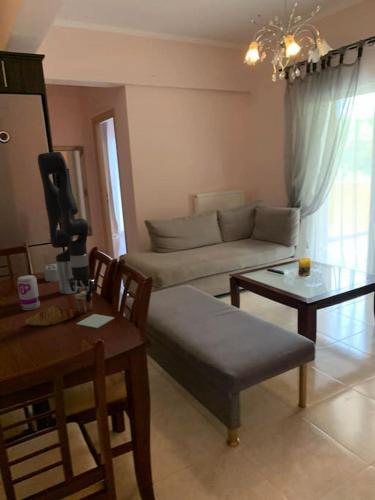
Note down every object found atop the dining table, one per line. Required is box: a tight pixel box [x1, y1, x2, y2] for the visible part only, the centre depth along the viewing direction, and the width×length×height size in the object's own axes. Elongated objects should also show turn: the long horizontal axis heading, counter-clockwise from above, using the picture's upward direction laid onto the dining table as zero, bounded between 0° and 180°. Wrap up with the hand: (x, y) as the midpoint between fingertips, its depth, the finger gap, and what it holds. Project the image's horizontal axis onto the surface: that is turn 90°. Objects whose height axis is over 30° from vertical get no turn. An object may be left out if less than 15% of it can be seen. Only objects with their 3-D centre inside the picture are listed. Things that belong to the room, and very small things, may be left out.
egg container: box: [43, 262, 59, 283], centre depth 223 cm, size 10×13×9 cm
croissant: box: [25, 305, 79, 326], centre depth 157 cm, size 21×10×8 cm, turn 112°
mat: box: [75, 313, 115, 329], centre depth 155 cm, size 11×11×1 cm
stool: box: [74, 290, 93, 314], centre depth 167 cm, size 5×5×8 cm
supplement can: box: [16, 274, 41, 311], centre depth 174 cm, size 8×8×15 cm
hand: (83, 300), depth 167 cm, fingers closed on stool, 5 cm apart
